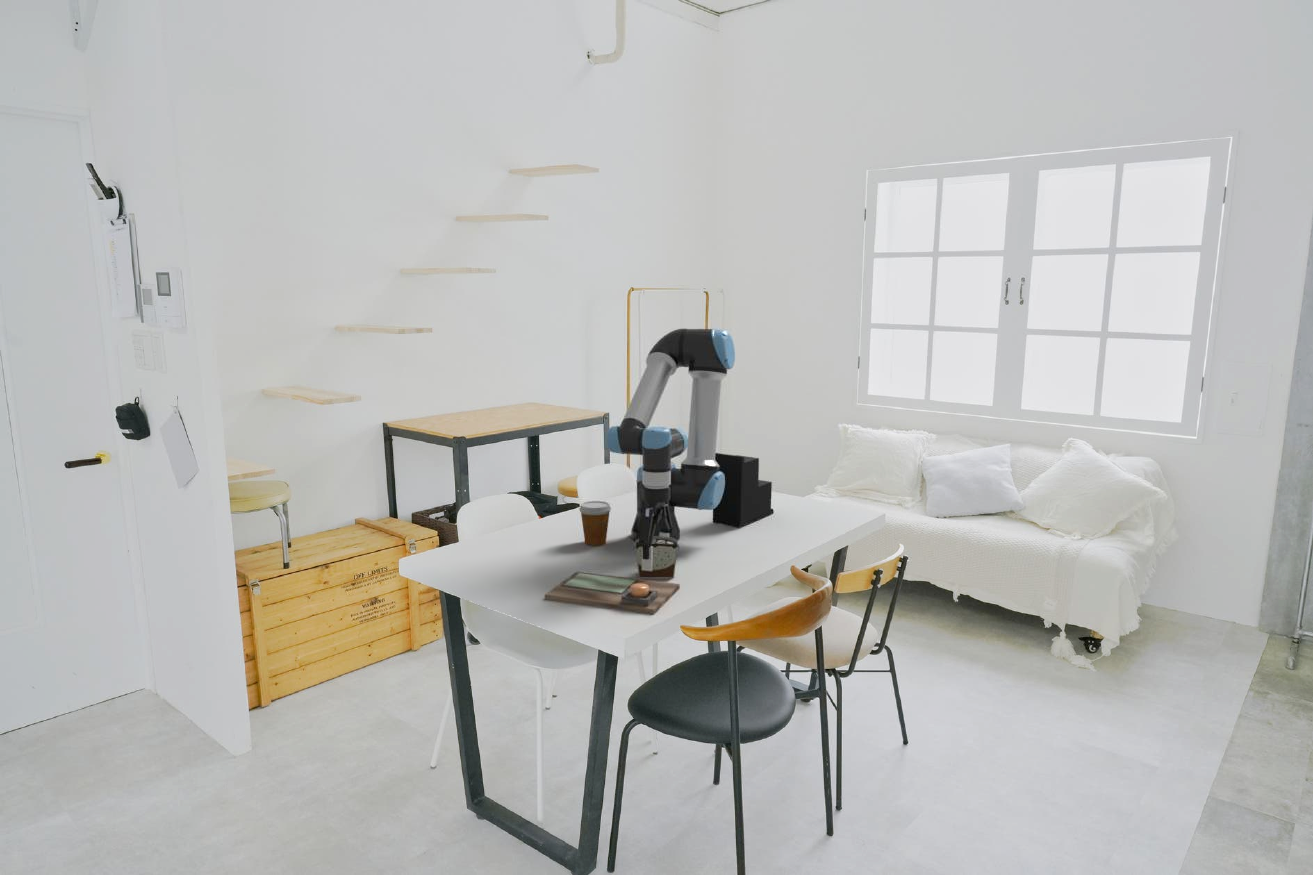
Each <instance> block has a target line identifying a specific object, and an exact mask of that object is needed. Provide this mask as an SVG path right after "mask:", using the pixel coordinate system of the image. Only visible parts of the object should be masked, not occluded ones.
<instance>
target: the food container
mask: <svg viewBox="0 0 1313 875" xmlns="http://www.w3.org/2000/svg"><path fill="white" fill-rule="evenodd" d="M634 541H635V540H634ZM645 542H646V541H645ZM638 543H639V539H637V540H636V541H635V542H634V545H633V550H635V554H636V555H635V556H636V562H637V564H636V565H637V574H638V579H675V573H676V571H675V570H676V564H677V556H678V555H677V554H678V550H680V544H679V541H678V540H676V539H674V538H670V537H665V536H653V540H652V544H651V546H653V554H652V571H645V570H642V547H640V546H638Z"/></svg>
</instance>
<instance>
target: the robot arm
mask: <svg viewBox="0 0 1313 875" xmlns="http://www.w3.org/2000/svg"><path fill="white" fill-rule="evenodd" d="M735 358H736V353H735V344H734V340H733V338H732V336H731V334H730V333H729V332H728V331H727V330H724V329H716V328H715V329H714V328H678V329H674V330H672V331H670V332H668V333H666V334H665V335H664V336H662V337H661V338H660V339H659V340H658V341H657V342H656V343H655V344H654V345H653V347H652V348H651V349H650V350H649V353H648V355H647V356H646V358H645V359H646V360H645V363H646V368H645V370H644V371H643V374H642V376H641V378H640V381H639V383H638V385H637V388H636V390H635V392H634V394H633V396H632V399H631V400H630V403H629V405H628V408H627V410H626V412H625V415H624V416H623V419H622V420H621V422H620V425H614V426H613V425H612V426H611V427H609V428H608V430H607V432H606V436H605V444H606V448H607V449H608V451H609V452H611V453H614V454H620V455H634V456H642V465H640V466H639V467H638V469H637V471H636V515H635V518H634V521H633V523H632V527H631V531H630V534H631V535H630V538H631V539H632V540H633V541H636V540H637V539H639V543H638V546H640V547H642V570H645V571H652V554H653V546H651V544H652V540H653V536H665V537H670V538H674V539H676V540H677V541H678V540H680V539H681V529H680V526H679V523H678V520H677V517H676V511H675V510H676V509H675V508H684V509H691V510H692V509H694V510H698V511H702V510H705V511H706V510H707V511H713V509H715V508H716V507H717V506H718V504H719V503H720V501H721V498H722V495H723V492H724V487H725V476H724V474H723V473H722V472H720V471H719V465H718V463H717V462H716V461H715V453H717V452H716V451H717V450H716V449H717V440H718V427H719V425H718V424H719V415H720V414H719V413H720V412H719V410H720V401H721V399H720V397H721V390H722V389H721V388H722V381H723V379H725V378H726V377H727V375H728V370H731V369H733V367H734V365H735V360H736V359H735ZM682 367H684V368H688V374H689V376H690V377H691V378H692V384H691V397H690V410H689V411H690V412H689V422H688V435H687V434H686V432H684V431H683V430H682V429H680V428H676V427H675V428H668V427H665V426H650V423H651V421H652V419H653V417H654V414H655V413H656V409H657V407H658V405H659V404H660V403H659V402H660V400H661V398H662V395H663V393H664V391H665V388H666V386H667V383H668V382H669V379H670V377H671V376H673V375H675V373H676V372H677V369H679V368H682ZM685 451H686V456H685V459H684V460H682V461H681V463H680V468H677V466H676V464H675V463H674V462H672V458H676V457H679V456H681V455H682V454H683V453H684V452H685ZM645 541H646V542H645Z"/></svg>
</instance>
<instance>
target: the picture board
mask: <svg viewBox="0 0 1313 875" xmlns="http://www.w3.org/2000/svg"><path fill="white" fill-rule="evenodd" d="M637 583H642V584H647V585H648V586H649V595H648V596H646V597H633V596H631V585H633V584H637ZM680 586H681V585H680V583H673V582H666V581H665V582H664V581H656V580H651V579H644V578H634V577H625V576H616V575H610V574H609V575H608V574H601V573H600V574H599V573H594V572H593V573H592V572H584V571H578V570H577V571H575V572H574V573H573V574H571V575H570V576H568V577H567V578H565V579H564V580H562V581H561V582H560V583H559V584H557V585H555V586H554V587H553V588H552V589H550V590H549V591H548V592H546V593H544V600H548V601H554V602H556V601H557V602H563V603H570V604H577V605H578V604H579V605H585V606H593V607H600V608H607V609H615V610H621V611H630V612H636V613H644V614H651V615H655V614H656V613H657V612H658V611H660V609H662V607H664V605H665V604H666V603H667V602H669V600H670V599H671V598H672V597H673V596H674V595H675V594H676V593H677V592H678V591H679V590H680Z"/></svg>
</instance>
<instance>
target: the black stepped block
mask: <svg viewBox="0 0 1313 875" xmlns="http://www.w3.org/2000/svg"><path fill="white" fill-rule="evenodd" d="M715 461H716V462H717V463H718V465H719V471H720V472H722V473H723V474H724V476H725V487H724V492H723V495H722V498H721V501H720V503H719V504H718V506H717V507H716V508H715V509H712V523H714V524H720V525H725V526H731V527H736V528H742V527H744V526H746V525H749V524H751V523H754V522H755V521H758V520H761V519H762V518H766V517H768V516H770V515H772V514H774V509H773V508H772V491H773V490H772V489H773V488H772V487H773V485H772V484H773V481H767V480H762V479H759V478H760V477H759V475H760V474H759V473H760V471H759V470H760V457H752V456H745V455H738V454H727V453H719V452H716V453H715Z"/></svg>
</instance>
